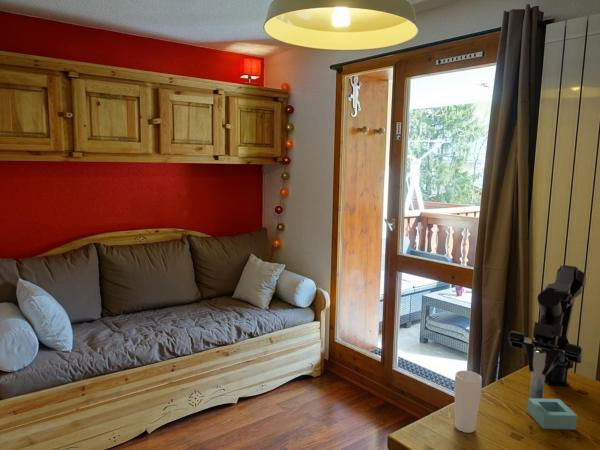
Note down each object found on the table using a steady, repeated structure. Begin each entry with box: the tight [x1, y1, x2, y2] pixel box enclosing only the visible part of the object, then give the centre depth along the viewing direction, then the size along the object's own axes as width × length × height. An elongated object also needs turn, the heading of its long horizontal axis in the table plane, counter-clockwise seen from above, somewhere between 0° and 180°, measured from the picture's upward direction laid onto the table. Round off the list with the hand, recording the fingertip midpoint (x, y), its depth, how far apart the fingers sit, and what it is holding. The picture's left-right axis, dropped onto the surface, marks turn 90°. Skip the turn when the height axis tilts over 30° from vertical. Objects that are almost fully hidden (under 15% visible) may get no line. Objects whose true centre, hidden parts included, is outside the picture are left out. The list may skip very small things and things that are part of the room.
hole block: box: [526, 398, 578, 430], centre depth 132 cm, size 9×9×4 cm
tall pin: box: [529, 348, 547, 399], centre depth 133 cm, size 3×3×13 cm
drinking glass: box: [453, 370, 483, 434], centre depth 127 cm, size 7×7×15 cm
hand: (537, 373), depth 131 cm, fingers closed on tall pin, 3 cm apart
